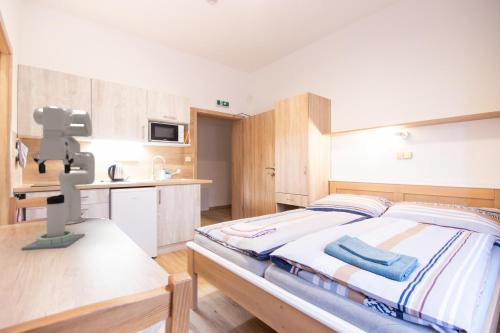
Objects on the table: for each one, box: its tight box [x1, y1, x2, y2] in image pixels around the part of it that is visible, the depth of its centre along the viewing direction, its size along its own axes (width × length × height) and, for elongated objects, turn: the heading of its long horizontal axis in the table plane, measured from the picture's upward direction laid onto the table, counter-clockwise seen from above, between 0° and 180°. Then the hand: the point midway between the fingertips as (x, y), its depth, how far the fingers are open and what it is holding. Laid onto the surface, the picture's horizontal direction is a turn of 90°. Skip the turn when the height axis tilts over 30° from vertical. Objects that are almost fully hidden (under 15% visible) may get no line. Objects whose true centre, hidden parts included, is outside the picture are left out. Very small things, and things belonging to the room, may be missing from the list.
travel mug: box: [46, 194, 66, 238], centre depth 106 cm, size 6×7×20 cm
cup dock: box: [21, 229, 86, 251], centre depth 106 cm, size 16×16×4 cm
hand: (55, 173), depth 105 cm, fingers open, 9 cm apart
